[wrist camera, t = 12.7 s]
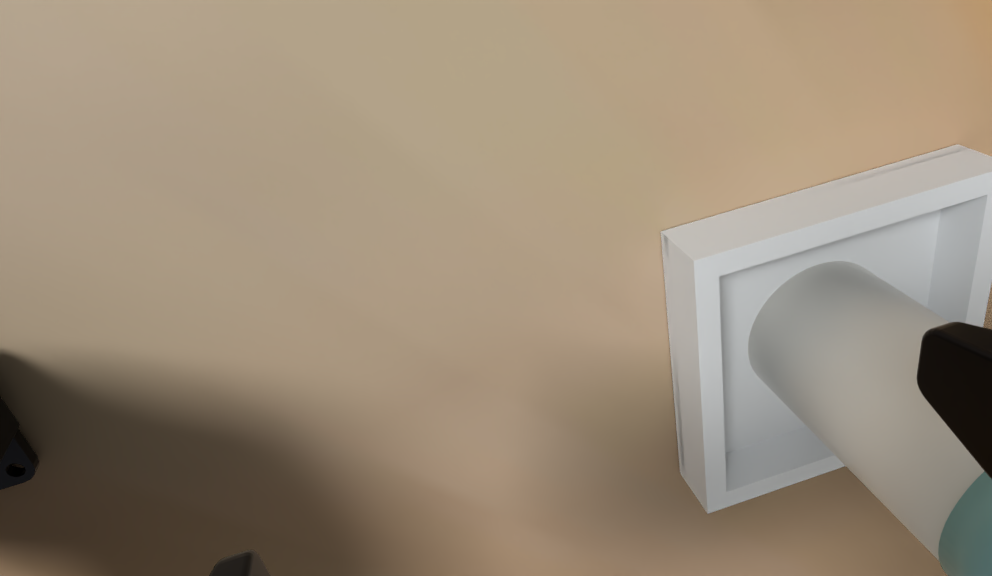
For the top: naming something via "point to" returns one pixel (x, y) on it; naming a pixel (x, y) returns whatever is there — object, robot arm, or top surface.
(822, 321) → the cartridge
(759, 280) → the tray
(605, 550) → the top surface
